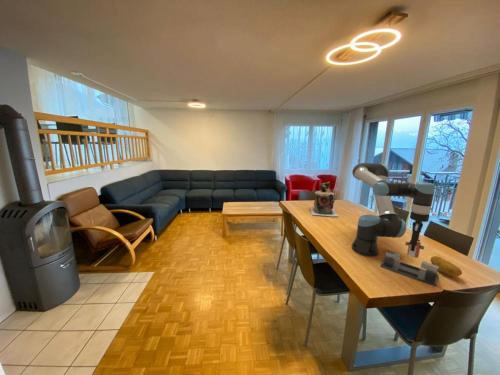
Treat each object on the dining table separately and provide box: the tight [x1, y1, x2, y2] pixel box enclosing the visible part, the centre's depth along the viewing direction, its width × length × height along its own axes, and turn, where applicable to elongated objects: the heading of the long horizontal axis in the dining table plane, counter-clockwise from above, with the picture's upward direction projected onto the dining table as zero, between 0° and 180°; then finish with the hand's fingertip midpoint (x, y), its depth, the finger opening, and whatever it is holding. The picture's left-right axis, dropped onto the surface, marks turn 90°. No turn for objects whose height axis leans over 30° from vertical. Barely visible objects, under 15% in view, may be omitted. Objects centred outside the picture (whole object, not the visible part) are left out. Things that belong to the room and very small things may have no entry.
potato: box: [430, 255, 463, 277], centre depth 112 cm, size 7×14×7 cm, turn 3°
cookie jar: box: [309, 181, 339, 218], centre depth 205 cm, size 25×25×32 cm
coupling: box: [405, 239, 425, 259], centre depth 109 cm, size 8×5×7 cm, turn 46°
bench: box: [379, 249, 439, 288], centre depth 112 cm, size 24×12×8 cm, turn 46°
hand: (412, 254), depth 110 cm, fingers closed on coupling, 5 cm apart
